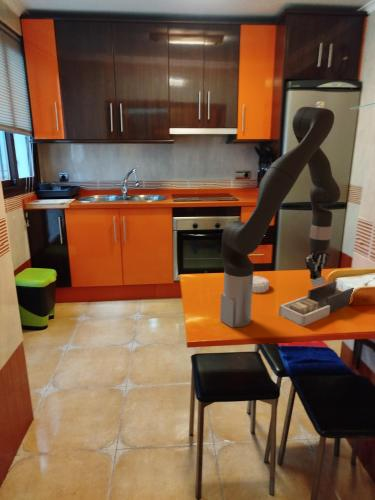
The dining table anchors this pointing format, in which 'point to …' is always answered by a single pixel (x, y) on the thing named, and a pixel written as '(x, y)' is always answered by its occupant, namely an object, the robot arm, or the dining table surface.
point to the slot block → (330, 296)
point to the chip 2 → (310, 305)
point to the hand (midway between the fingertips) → (315, 278)
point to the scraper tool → (318, 279)
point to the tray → (299, 318)
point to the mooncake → (260, 284)
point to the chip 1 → (299, 308)
